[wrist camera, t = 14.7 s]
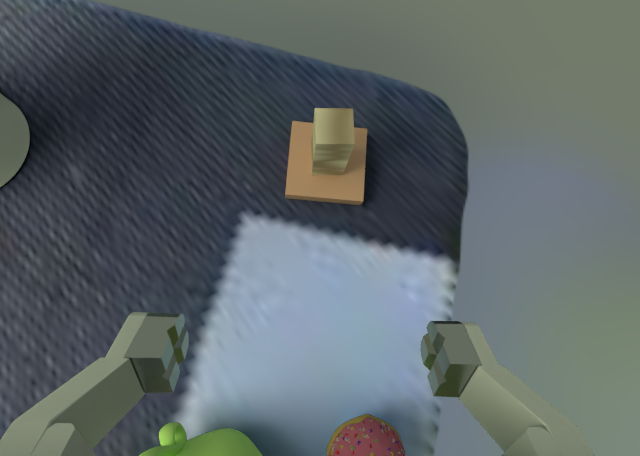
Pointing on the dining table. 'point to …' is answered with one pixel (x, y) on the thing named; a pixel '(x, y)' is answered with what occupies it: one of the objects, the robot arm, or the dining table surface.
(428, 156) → the dining table surface
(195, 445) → the teapot
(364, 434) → the cupcake
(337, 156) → the post
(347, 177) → the tile
